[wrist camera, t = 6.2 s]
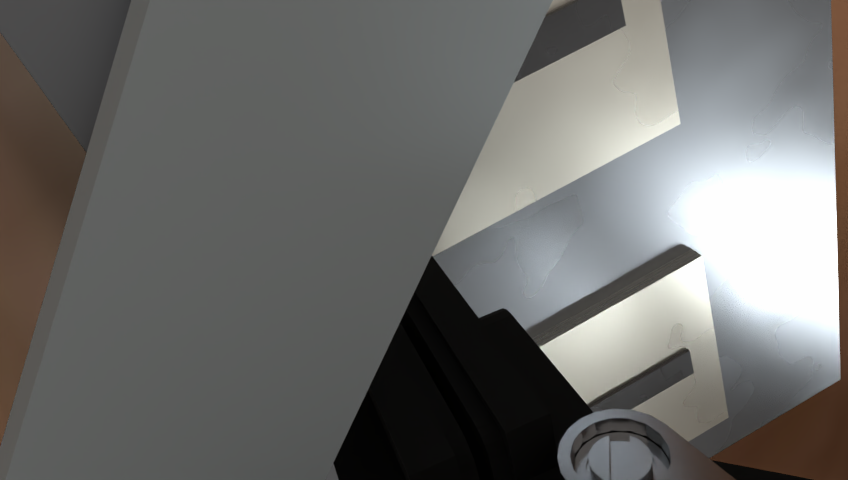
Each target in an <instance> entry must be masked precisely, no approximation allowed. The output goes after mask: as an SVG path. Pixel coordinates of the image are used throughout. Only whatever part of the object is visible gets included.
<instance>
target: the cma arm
mask: <svg viewBox="0 0 848 480" xmlns="http://www.w3.org/2000/svg"><path fill="white" fill-rule="evenodd" d="M552 1H553V0H131V3H130V6H129V10H128V13H127V16H126V20H125V23H124V27H123V30H122V33H121V37H120V40H119V44H118V47H117V50H116V54H115V57H114V61H113V64H112V68H111V71H110V74H109V78H108V81H107V85H106V88H105V91H104V95H103V98H102V102H101V105H100V108H99V112H98V115H97V119H96V122H95V125H94V129H93V132H92V136H91V139H90V143H89V146H88V149H87V153H86V156H85V160H84V163H83V166H82V170H81V173H80V177H79V180H78V183H77V187H76V190H75V194H74V197H73V201H72V204H71V207H70V211H69V214H68V218H67V221H66V224H65V228H64V231H63V235H62V238H61V241H60V245H59V248H58V252H57V255H56V259H55V262H54V265H53V269H52V272H51V276H50V279H49V282H48V286H47V289H46V293H45V296H44V299H43V303H42V306H41V310H40V313H39V317H38V320H37V323H36V327H35V330H34V334H33V337H32V340H31V344H30V347H29V351H28V354H27V357H26V361H25V364H24V368H23V371H22V375H21V378H20V381H19V385H18V388H17V392H16V395H15V398H14V402H13V405H12V409H11V412H10V415H9V419H8V422H7V426H6V429H5V432H4V436H3V439H2V443H1V446H0V480H325V479H326V477H327V475H328V473H329V471H330V469H331V467H332V465H333V462H334V460H335V458H336V456H337V454H338V452H339V450H340V448H341V446H342V444H343V441H344V439H345V437H346V435H347V433H348V431H349V429H350V427H351V425H352V422H353V420H354V418H355V416H356V414H357V412H358V410H359V408H360V406H361V403H362V401H363V399H364V397H365V395H366V393H367V391H368V389H369V387H370V384H371V382H372V380H373V378H374V376H375V374H376V372H377V370H378V368H379V366H380V363H381V361H382V359H383V357H384V355H385V353H386V351H387V349H388V347H389V344H390V342H391V340H392V338H393V336H394V334H395V332H396V330H397V328H398V325H399V323H400V321H401V319H402V317H403V315H404V313H405V311H406V309H407V306H408V304H409V302H410V300H411V298H412V296H413V294H414V292H415V290H416V288H417V285H418V283H419V281H420V279H421V277H422V275H423V273H424V271H425V269H426V266H427V264H428V262H429V260H430V258H431V256H432V254H433V252H434V250H435V247H436V245H437V243H438V241H439V239H440V237H441V235H442V233H443V231H444V228H445V226H446V224H447V222H448V220H449V218H450V216H451V214H452V212H453V209H454V207H455V205H456V203H457V201H458V199H459V197H460V195H461V193H462V191H463V188H464V186H465V184H466V182H467V180H468V178H469V176H470V174H471V172H472V169H473V167H474V165H475V163H476V161H477V159H478V157H479V155H480V153H481V150H482V148H483V146H484V144H485V142H486V140H487V138H488V136H489V134H490V131H491V129H492V127H493V125H494V123H495V121H496V119H497V117H498V115H499V113H500V110H501V108H502V106H503V104H504V102H505V100H506V98H507V96H508V94H509V91H510V89H511V87H512V85H513V83H514V81H515V79H516V77H517V75H518V72H519V70H520V68H521V66H522V64H523V62H524V60H525V58H526V56H527V53H528V51H529V49H530V47H531V45H532V43H533V41H534V39H535V37H536V35H537V32H538V30H539V28H540V26H541V24H542V22H543V20H544V18H545V16H546V13H547V11H548V9H549V7H550V5H551V3H552Z"/></svg>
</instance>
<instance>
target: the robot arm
mask: <svg viewBox="0 0 848 480" xmlns="http://www.w3.org/2000/svg"><path fill="white" fill-rule="evenodd" d="M333 464H334V467H335V470H336V473H337V476H338V479H339V480H812V479H807V478H801V477H796V476H791V475H786V474H780V473H775V472H770V471H765V470H759V469H754V468H749V467H744V466H739V465H733V464H728V463H723V462H718V461H712V460H710V459H709V458H708V457H707V456H705V455H704V454H703V453H702V452H700V451H699V450H698V449H697V448H695V447H694V446H693V445H692V444H690V443H689V442H688V441H687V440H685V439H684V438H683V437H681V436H680V435H679V434H678V433H676V432H675V431H674V430H673V429H671V428H670V427H669V426H668V425H666V424H665V423H663V422H661V421H660V420H658V419H656V418H655V417H653V416H651V415H649V414H645V413H642V412H638V411H635V410H629V409H609V410H603V411H597V412H593V411H592V410H591V409H590V408H589V406H588V405H587V404H586V403H585V402H584V400H583V399H582V398H581V397H580V396H579V394H578V393H577V392H576V391H575V390H574V388H573V387H572V386H571V385H570V384H569V382H568V381H567V380H566V379H565V378H564V376H563V375H562V374H561V373H560V372H559V370H558V369H557V368H556V367H555V366H554V364H553V363H552V362H551V361H550V360H549V358H548V357H547V356H546V355H545V354H544V352H543V351H542V350H541V349H540V348H539V346H538V345H537V344H536V343H535V342H534V340H533V339H532V338H531V337H530V336H529V334H528V333H527V332H526V331H525V330H524V328H523V327H522V326H521V325H520V324H519V322H518V321H517V320H516V319H515V318H514V316H513V315H512V314H511V313H510V312H509V311H508V310H507V309H504V308H502V309H499V310H497V311H494V312H492V313H490V314H487V315H485V316H482V317H480V318H478V316H477V315H476V314H475V312H474V311H473V310H472V308H471V307H470V306H469V304H468V303H467V302H466V300H465V299H464V298H463V296H462V295H461V294H460V292H459V291H458V290H457V288H456V287H455V286H454V284H453V283H452V282H451V280H450V279H449V278H448V277H447V275H446V274H445V273H444V271H443V270H442V269H441V267H440V266H439V265H438V263H437V262H436V261H435V259H434V258H433V257H432V256H431V258H430V260H429V262H428V264H427V266H426V269H425V271H424V273H423V275H422V277H421V279H420V281H419V283H418V285H417V288H416V290H415V292H414V294H413V296H412V298H411V300H410V302H409V304H408V306H407V309H406V311H405V313H404V315H403V317H402V319H401V321H400V323H399V325H398V328H397V330H396V332H395V334H394V336H393V338H392V340H391V342H390V344H389V347H388V349H387V351H386V353H385V355H384V357H383V359H382V361H381V363H380V366H379V368H378V370H377V372H376V374H375V376H374V378H373V380H372V382H371V384H370V387H369V389H368V391H367V393H366V395H365V397H364V399H363V401H362V403H361V406H360V408H359V410H358V412H357V414H356V416H355V418H354V420H353V422H352V425H351V427H350V429H349V431H348V433H347V435H346V437H345V439H344V441H343V444H342V446H341V448H340V450H339V452H338V454H337V456H336V458H335V460H334V462H333Z"/></svg>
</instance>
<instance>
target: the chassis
mask: <svg viewBox="0 0 848 480" xmlns="http://www.w3.org/2000/svg"><path fill="white" fill-rule="evenodd" d="M130 3H131V0H0V33H1V34H2V35H3V37H4V38H5V40H6V41H7V42H8V44H9V45H10V47H11V48H12V49H13V51H14V52H15V53H16V55H17V56H18V58H19V59H20V60H21V62H22V63H23V65H24V66H25V67H26V69H27V70H28V72H29V73H30V74H31V76H32V77H33V79H34V80H35V81H36V83H37V84H38V86H39V87H40V88H41V90H42V91H43V93H44V94H45V95H46V97H47V98H48V100H49V101H50V102H51V104H52V105H53V107H54V108H55V109H56V111H57V112H58V113H59V115H60V116H61V118H62V119H63V120H64V122H65V123H66V125H67V126H68V127H69V129H70V130H71V132H72V133H73V134H74V136H75V137H76V139H77V140H78V141H79V143H80V144H81V146H82V147H83V148H84V150H85V151H86V153H87V149H88V146H89V143H90V139H91V136H92V132H93V129H94V125H95V122H96V119H97V115H98V112H99V108H100V105H101V102H102V98H103V95H104V91H105V88H106V85H107V81H108V78H109V74H110V71H111V68H112V64H113V61H114V57H115V54H116V50H117V47H118V44H119V40H120V37H121V33H122V30H123V27H124V23H125V20H126V16H127V13H128V10H129V6H130ZM432 257H433V258H434V259H435V261H436V262H437V263H438V265H439V266H440V267H441V269H442V270H443V271H444V273H445V274H446V275H447V277H448V278H449V279H450V280H451V282H452V283H453V284H454V286H455V287H456V288H457V290H458V291H459V292H460V294H461V295H462V296H463V298H464V299H465V300H466V302H467V303H468V304H469V306H470V307H471V308H472V310H473V311H474V312H475V314H476V315H477V316H478V318H480V317H482V316H485V315H487V314H490V313H492V312H494V311H497V310H499V309H502V308H504V309H507V310H508V311H509V312H510V313H511V314H512V315H513V316H514V318H515V319H516V320H517V321H518V322H519V324H520V325H521V326H522V327H523V328H524V330H525V331H526V332H527V333H528V334H529V336H530V337H531V338H532V339H533V340H534V342H535V343H536V344H537V345H538V346H539V348H540V349H541V350H542V351H543V352H544V354H545V355H546V356H547V357H548V358H549V360H550V361H551V362H552V363H553V364H554V366H555V367H556V368H557V369H558V370H559V372H560V373H561V374H562V375H563V376H564V378H565V379H566V380H567V381H568V382H569V384H570V385H571V386H572V387H573V388H574V390H575V391H576V392H577V393H578V394H579V396H580V397H581V398H582V399H583V400H584V402H585V403H586V404H587V405H588V406H589V408H590V409H591V410H592V411H593V412H597V411H603V410H609V409H629V410H635V411H638V412H642V413H645V414H649V415H651V416H653V417H655V418H656V419H658V420H660V421H661V422H663V423H665V424H666V425H668V426H669V427H670V428H671V429H673V430H674V431H675V432H676V433H678V434H679V435H680V436H681V437H683V438H684V439H685V440H687V441H688V442H689V443H690V444H692V445H693V446H694V447H695V448H697V449H698V450H699V451H700V452H702V453H703V454H704V455H705V456H707V457H708V458H710V457H712V456H714V455H715V454H717V453H719V452H720V451H722V450H724V449H725V448H727V447H729V446H730V445H732V444H734V443H735V442H737V441H739V440H740V439H742V438H744V437H745V436H747V435H749V434H750V433H752V432H754V431H755V430H757V429H759V428H760V427H762V426H764V425H765V424H767V423H769V422H770V421H772V420H774V419H775V418H777V417H779V416H780V415H782V414H784V413H785V412H787V411H789V410H790V409H792V408H794V407H795V406H797V405H799V404H800V403H802V402H804V401H805V400H807V399H809V398H810V397H812V396H814V395H815V394H817V393H819V392H820V391H822V390H824V389H825V388H827V387H829V386H830V385H832V384H834V383H835V382H837V381H839V380H840V379H841V376H840V337H839V298H838V260H837V221H836V182H835V143H834V105H833V66H832V27H831V0H553V1H552V3H551V5H550V7H549V9H548V11H547V13H546V16H545V18H544V20H543V22H542V24H541V26H540V28H539V30H538V32H537V35H536V37H535V39H534V41H533V43H532V45H531V47H530V49H529V51H528V53H527V56H526V58H525V60H524V62H523V64H522V66H521V68H520V70H519V72H518V75H517V77H516V79H515V81H514V83H513V85H512V87H511V89H510V91H509V94H508V96H507V98H506V100H505V102H504V104H503V106H502V108H501V110H500V113H499V115H498V117H497V119H496V121H495V123H494V125H493V127H492V129H491V131H490V134H489V136H488V138H487V140H486V142H485V144H484V146H483V148H482V150H481V153H480V155H479V157H478V159H477V161H476V163H475V165H474V167H473V169H472V172H471V174H470V176H469V178H468V180H467V182H466V184H465V186H464V188H463V191H462V193H461V195H460V197H459V199H458V201H457V203H456V205H455V207H454V209H453V212H452V214H451V216H450V218H449V220H448V222H447V224H446V226H445V228H444V231H443V233H442V235H441V237H440V239H439V241H438V243H437V245H436V247H435V250H434V252H433V254H432ZM325 480H339V479H338V476H337V473H336V470H335V467H334V464H333V465H332V467H331V469H330V471H329V473H328V475H327V477H326V479H325Z"/></svg>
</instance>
